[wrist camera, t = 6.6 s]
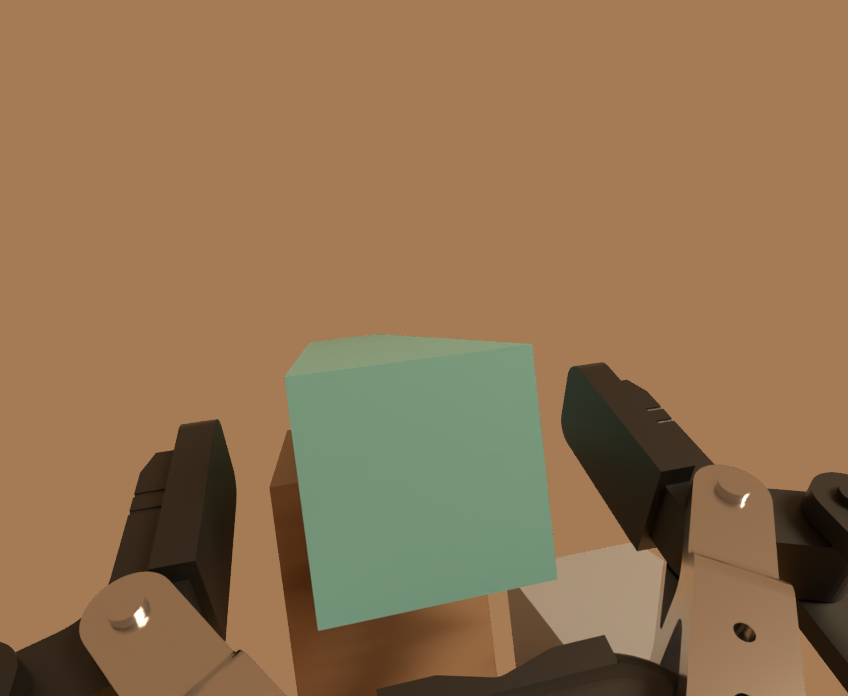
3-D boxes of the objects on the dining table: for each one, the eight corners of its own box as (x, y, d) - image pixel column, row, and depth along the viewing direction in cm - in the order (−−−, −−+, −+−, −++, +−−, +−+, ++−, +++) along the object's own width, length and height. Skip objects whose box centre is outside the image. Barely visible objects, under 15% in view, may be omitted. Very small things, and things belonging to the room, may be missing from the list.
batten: (318, 631, 9) (284, 376, 8) (318, 411, 32) (309, 342, 32) (557, 579, 9) (531, 344, 9) (386, 401, 33) (378, 334, 33)
